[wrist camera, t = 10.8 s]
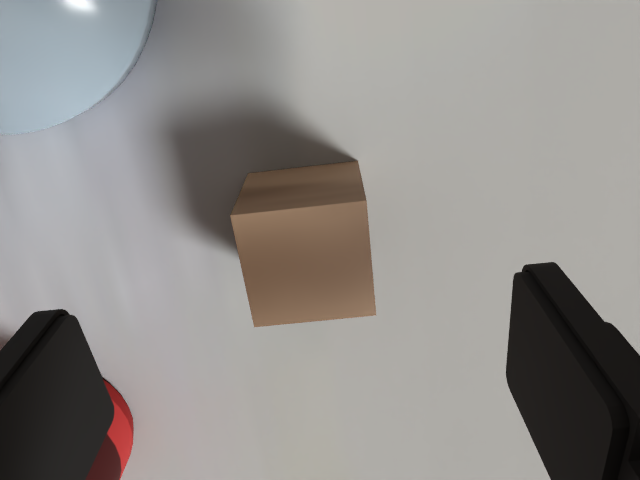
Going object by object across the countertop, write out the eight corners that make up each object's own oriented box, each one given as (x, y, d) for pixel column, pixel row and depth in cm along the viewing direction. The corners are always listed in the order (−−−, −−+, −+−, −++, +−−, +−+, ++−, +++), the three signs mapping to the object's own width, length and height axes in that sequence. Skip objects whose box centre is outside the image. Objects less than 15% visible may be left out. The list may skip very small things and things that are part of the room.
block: (366, 257, 20) (376, 315, 16) (266, 267, 20) (254, 326, 16) (357, 159, 18) (366, 200, 14) (248, 172, 18) (230, 215, 15)
